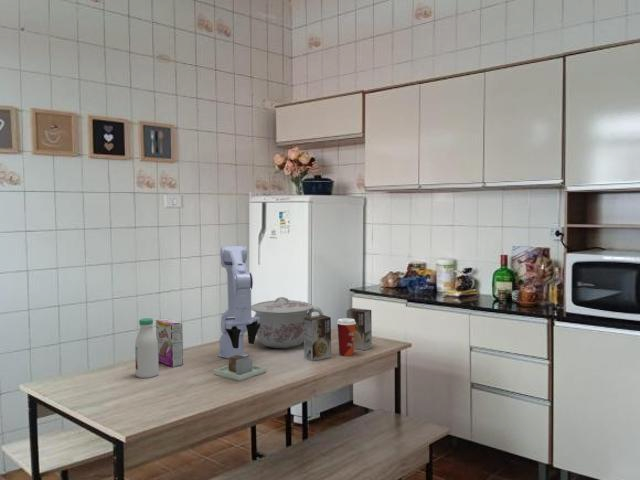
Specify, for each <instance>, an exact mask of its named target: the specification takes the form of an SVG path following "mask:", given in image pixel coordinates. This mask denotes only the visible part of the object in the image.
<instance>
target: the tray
mask: <svg viewBox="0 0 640 480" xmlns="http://www.w3.org/2000/svg"><path fill="white" fill-rule="evenodd" d="M266 372H267V368H266V367H265V366H260V365H255V364H252V372H249V373H246V374H243V375H238V374H236V373H235V372H231V371H229V364H228V365H225V366H221V367H219V368H214V369H213V375H215V376H218V377H223V378H227V379H230V380H234V381H237V382H241V381H244V380H247V379H251V378H253V377H257V376H259V375H262V374H266Z"/></svg>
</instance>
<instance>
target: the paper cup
mask: <svg viewBox="0 0 640 480" xmlns="http://www.w3.org/2000/svg"><path fill="white" fill-rule="evenodd" d="M336 324H337V337H338V338H337V340H338V352H339V356H341V357H342V356H343V357H350V356H351V357H352V356H353V355H354V350H355V349H354V336H355V324H356V322H355V320H354V319H351V318H347V317H346V318H345V317H344V318H338V319H337V322H336Z"/></svg>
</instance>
